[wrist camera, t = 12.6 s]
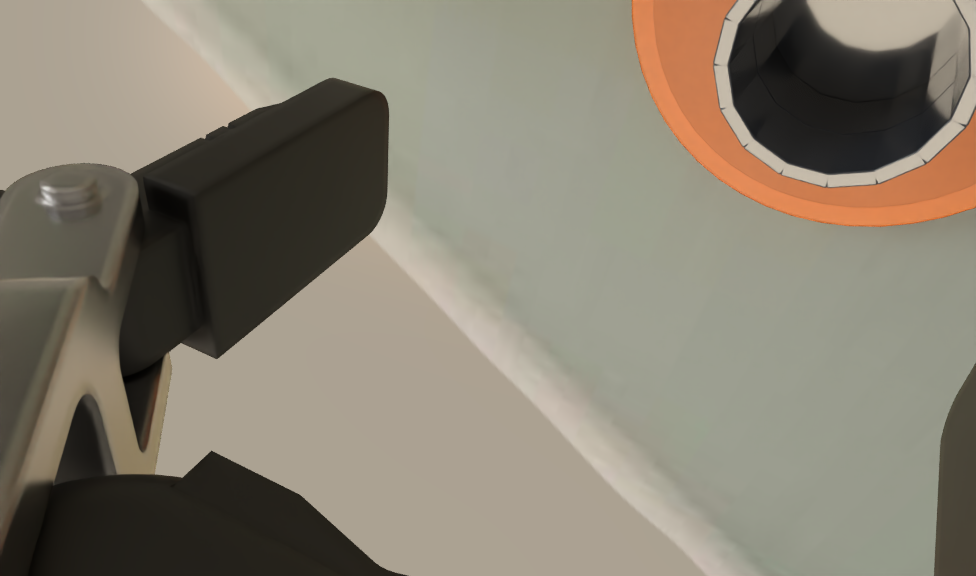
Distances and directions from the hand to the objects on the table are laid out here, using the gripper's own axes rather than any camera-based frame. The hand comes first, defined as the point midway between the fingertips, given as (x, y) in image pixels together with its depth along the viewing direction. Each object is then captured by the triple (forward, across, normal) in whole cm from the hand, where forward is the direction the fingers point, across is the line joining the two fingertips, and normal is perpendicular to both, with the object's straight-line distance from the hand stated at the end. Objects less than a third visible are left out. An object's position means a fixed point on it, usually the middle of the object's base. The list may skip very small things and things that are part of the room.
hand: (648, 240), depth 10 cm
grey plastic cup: (+17, -2, +1) cm, 17 cm away
